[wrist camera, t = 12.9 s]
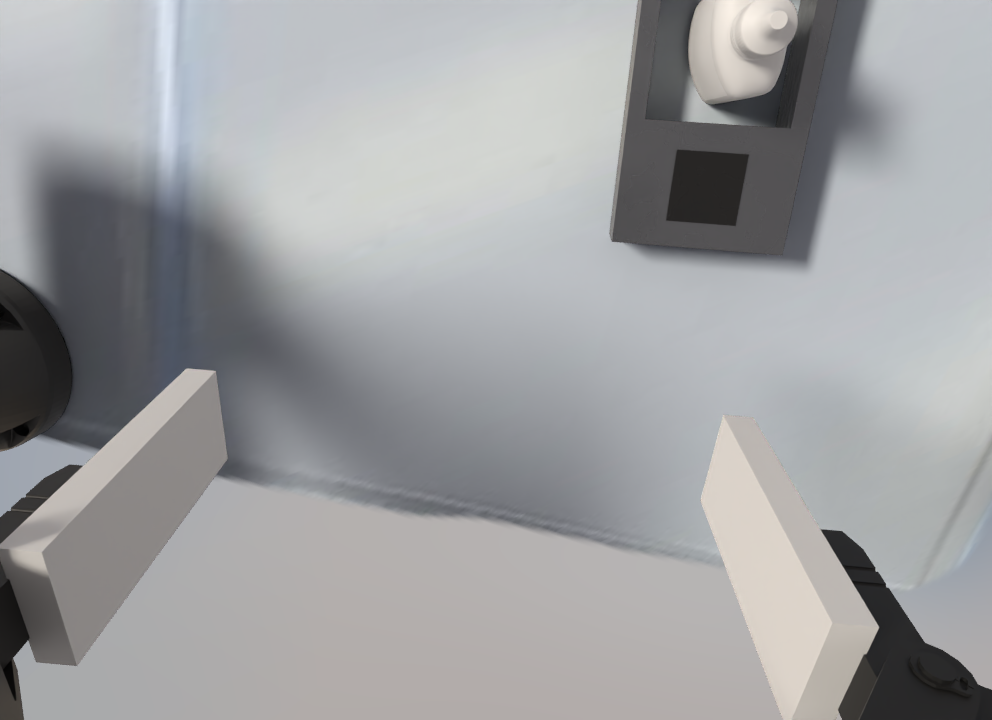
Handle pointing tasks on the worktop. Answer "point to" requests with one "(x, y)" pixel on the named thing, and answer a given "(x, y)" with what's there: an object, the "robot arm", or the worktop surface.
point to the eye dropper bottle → (739, 47)
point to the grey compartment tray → (715, 155)
